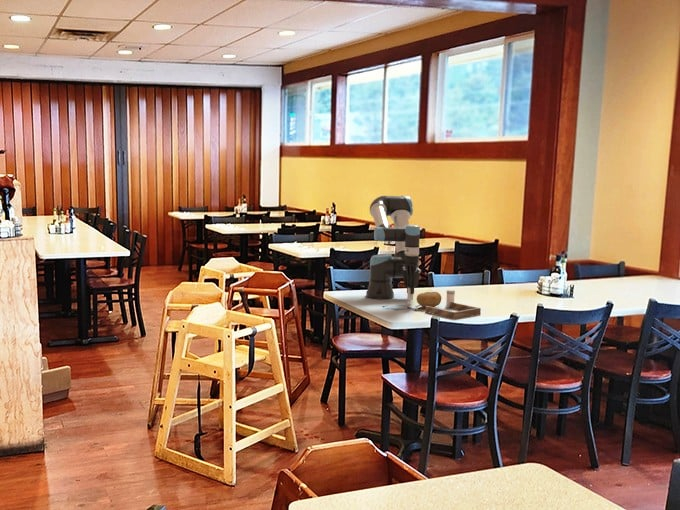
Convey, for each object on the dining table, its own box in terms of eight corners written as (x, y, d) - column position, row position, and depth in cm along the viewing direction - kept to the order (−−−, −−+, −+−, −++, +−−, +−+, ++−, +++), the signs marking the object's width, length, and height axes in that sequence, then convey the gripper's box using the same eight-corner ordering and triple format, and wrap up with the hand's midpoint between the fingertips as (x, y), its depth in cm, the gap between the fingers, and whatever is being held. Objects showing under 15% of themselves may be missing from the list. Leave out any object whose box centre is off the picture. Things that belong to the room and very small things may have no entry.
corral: (425, 312, 347) (425, 306, 346) (451, 307, 359) (451, 302, 359) (454, 318, 333) (454, 312, 332) (480, 314, 345) (480, 308, 344)
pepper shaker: (444, 306, 363) (444, 290, 362) (449, 305, 366) (450, 289, 365) (450, 307, 360) (451, 291, 359) (455, 306, 362) (456, 290, 361)
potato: (411, 307, 359) (412, 291, 358) (434, 305, 366) (434, 289, 365) (422, 310, 351) (422, 294, 350) (445, 308, 357) (446, 293, 356)
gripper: (397, 254, 367) (396, 298, 370) (415, 256, 357) (414, 302, 360) (407, 253, 372) (406, 297, 375) (425, 255, 362) (424, 301, 365)
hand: (410, 299), depth 368 cm, fingers closed
